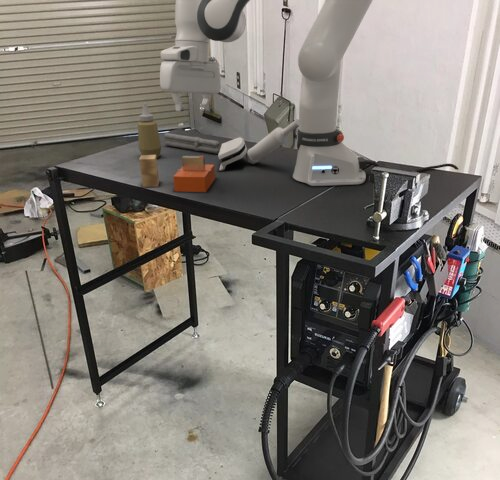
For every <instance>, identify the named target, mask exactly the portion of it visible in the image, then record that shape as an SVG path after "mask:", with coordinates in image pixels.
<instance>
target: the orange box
mask: <svg viewBox="0 0 500 480" xmlns="http://www.w3.org/2000/svg"><path fill="white" fill-rule="evenodd" d="M215 170H216V169H215V164H205V171H183V166H181V168H180V169H179V168H178V169H176V173H175V174H174V175H173V177H172V178H173V187H174V192H179V193H180V192H183V193H184V192H186V193H191V192H192V193H206V192H207V191H208V190H209V189H210V187H211V186H212V184H213V183H214V181H216V171H215Z"/></svg>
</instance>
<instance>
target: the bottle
mask: <svg viewBox="0 0 500 480" xmlns="http://www.w3.org/2000/svg"><path fill="white" fill-rule="evenodd" d="M297 128H299V118H296V119H295V120H294V121H292V122H291V123H289V125H287V126H285V128H282V127H280V126H278V127H275V128H274V129H273V130H272V131H271V132H269V133H268V134H267V135H266V136H265V137H263V138H262V139H261V140H260V141H259V142H257V143H256V144H254V145H253V146H252V147H250V148H248V149H247V152H246V154H245V159H246V161H247V162H248V163H250V164H251V165H255V164H257V163H259V162H260V161H261V160H262V159H263V158H265V157H266V156H268V155H269V154H271V153H272V152H274V151H275V150H277V149H278V148H279V147H281V146H283V145H285V144H286V143H287V141H288V135H289V134H290V133H292V132H294V130H296V129H297Z"/></svg>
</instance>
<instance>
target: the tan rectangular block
mask: <svg viewBox="0 0 500 480" xmlns="http://www.w3.org/2000/svg"><path fill="white" fill-rule="evenodd" d="M181 160H182V167H183V171H205V165H206V160H205V155H203V154H202V155H201V154H200V155H183V156H181Z"/></svg>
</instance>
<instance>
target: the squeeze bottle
mask: <svg viewBox="0 0 500 480" xmlns="http://www.w3.org/2000/svg"><path fill="white" fill-rule="evenodd" d="M141 112H142V113H141V114H140V115H139V121H138V123H137V138H138V150H139V152H140V154H141V155H156V158H157V159H158V158H160V156H161V152H162V151H161V150H162V142H161V138H160V133H159V128H158V123H157V121H156V120H154V115H153V114H152V113H150V110H149V108H148V105H147V103H143V104H142V111H141Z"/></svg>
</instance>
